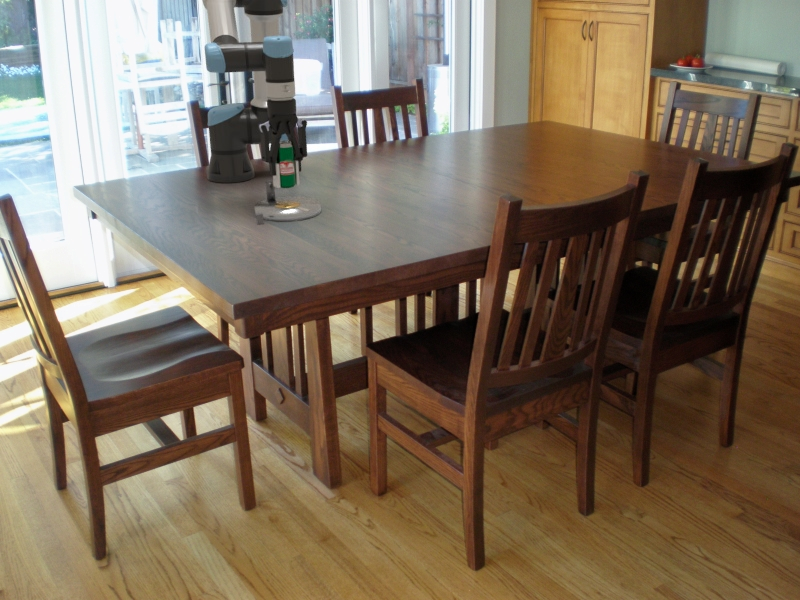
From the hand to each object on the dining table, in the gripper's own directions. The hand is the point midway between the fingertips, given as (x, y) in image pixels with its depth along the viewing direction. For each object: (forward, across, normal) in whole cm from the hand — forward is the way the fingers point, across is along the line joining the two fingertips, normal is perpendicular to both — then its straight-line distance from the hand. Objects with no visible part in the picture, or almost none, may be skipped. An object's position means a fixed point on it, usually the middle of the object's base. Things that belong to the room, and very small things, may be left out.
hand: (286, 185), depth 224 cm
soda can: (0, 0, 0) cm, 0 cm away
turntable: (+8, 0, 0) cm, 8 cm away
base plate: (+9, 0, 0) cm, 9 cm away
